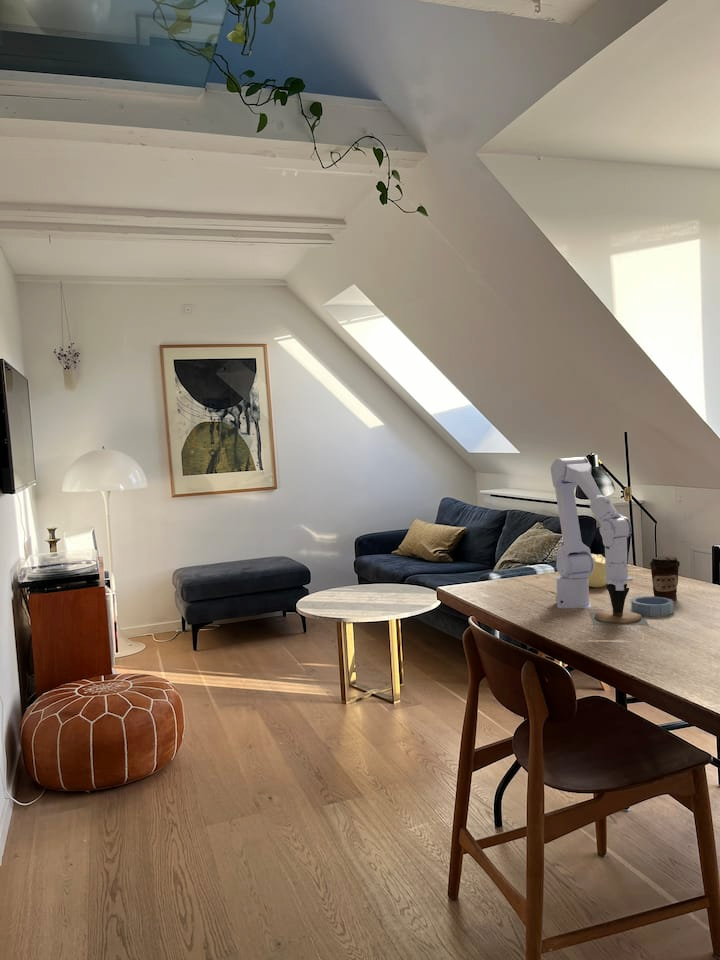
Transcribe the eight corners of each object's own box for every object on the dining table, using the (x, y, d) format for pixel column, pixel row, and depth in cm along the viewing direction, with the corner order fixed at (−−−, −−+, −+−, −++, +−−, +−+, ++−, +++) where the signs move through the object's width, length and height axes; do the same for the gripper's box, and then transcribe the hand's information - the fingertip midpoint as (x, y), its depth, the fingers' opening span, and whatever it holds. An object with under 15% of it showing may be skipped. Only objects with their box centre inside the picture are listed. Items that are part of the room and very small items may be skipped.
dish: (634, 617, 211) (633, 605, 211) (629, 608, 222) (628, 596, 222) (676, 618, 209) (676, 605, 208) (669, 608, 219) (669, 596, 219)
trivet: (593, 626, 204) (593, 624, 204) (589, 613, 218) (589, 611, 218) (648, 626, 201) (648, 625, 201) (641, 613, 215) (641, 612, 215)
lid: (597, 623, 205) (596, 602, 205) (593, 612, 217) (592, 592, 216) (644, 623, 202) (643, 602, 202) (637, 612, 214) (637, 592, 214)
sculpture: (612, 590, 247) (611, 556, 246) (573, 589, 251) (572, 556, 250) (612, 582, 258) (611, 550, 257) (575, 582, 261) (574, 550, 261)
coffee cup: (683, 604, 223) (682, 560, 223) (653, 604, 225) (652, 560, 224) (677, 597, 232) (676, 555, 231) (648, 597, 234) (647, 555, 233)
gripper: (635, 566, 201) (636, 617, 202) (628, 557, 215) (629, 605, 216) (607, 566, 202) (608, 617, 203) (602, 557, 216) (603, 605, 217)
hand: (617, 611), depth 209 cm, fingers closed on lid, 3 cm apart
